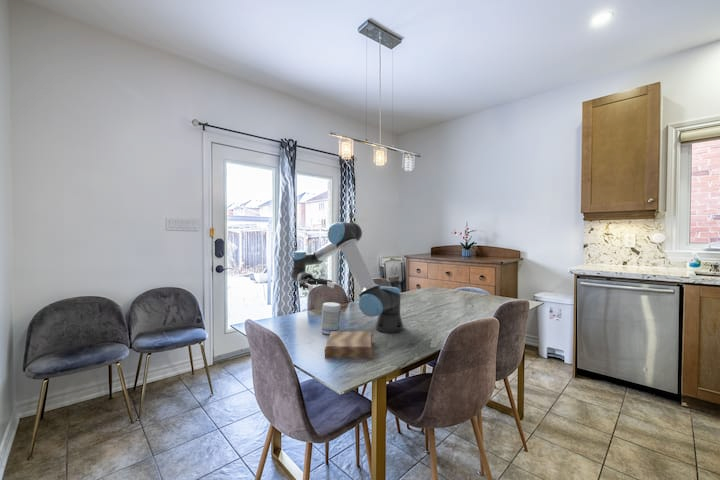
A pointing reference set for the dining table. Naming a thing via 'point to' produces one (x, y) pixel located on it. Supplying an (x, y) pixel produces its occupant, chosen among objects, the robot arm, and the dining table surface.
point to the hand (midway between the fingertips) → (322, 287)
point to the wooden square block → (349, 345)
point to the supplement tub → (330, 317)
